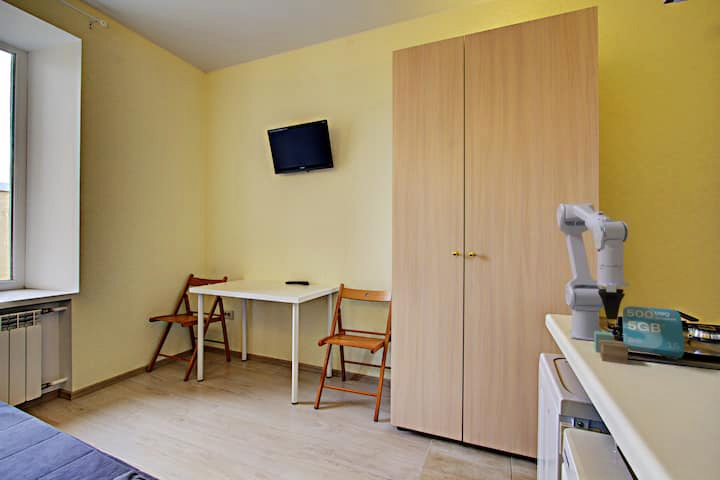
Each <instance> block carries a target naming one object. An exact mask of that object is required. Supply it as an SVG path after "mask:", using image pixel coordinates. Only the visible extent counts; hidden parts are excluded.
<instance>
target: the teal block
mask: <svg viewBox="0 0 720 480" xmlns="http://www.w3.org/2000/svg"><path fill="white" fill-rule="evenodd" d="M599 340H610V341H615V335H614V334H613V332H610V331H601V330H599V331H594V342H593V343H594V351H595V353H599V354H600V349H599Z"/></svg>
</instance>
